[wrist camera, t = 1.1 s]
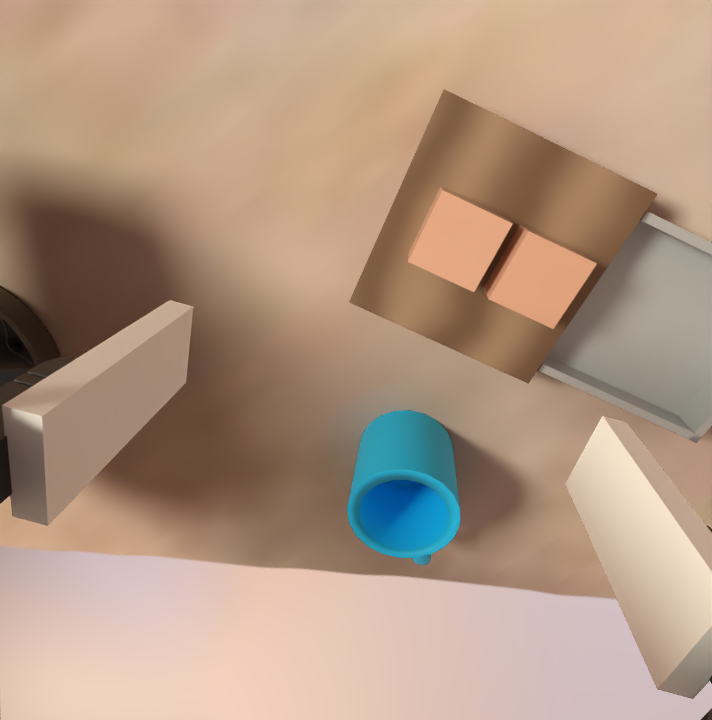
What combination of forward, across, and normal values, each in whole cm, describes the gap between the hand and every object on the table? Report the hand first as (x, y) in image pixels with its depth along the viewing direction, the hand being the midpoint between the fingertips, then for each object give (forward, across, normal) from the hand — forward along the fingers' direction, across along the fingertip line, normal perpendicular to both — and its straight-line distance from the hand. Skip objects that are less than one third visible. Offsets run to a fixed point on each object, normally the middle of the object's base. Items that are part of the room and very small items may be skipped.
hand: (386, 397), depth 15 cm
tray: (+22, +19, 0) cm, 29 cm away
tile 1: (+18, +8, +2) cm, 20 cm away
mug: (+22, +6, -18) cm, 29 cm away
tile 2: (+18, +3, +3) cm, 19 cm away
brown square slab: (+22, +5, +2) cm, 22 cm away
